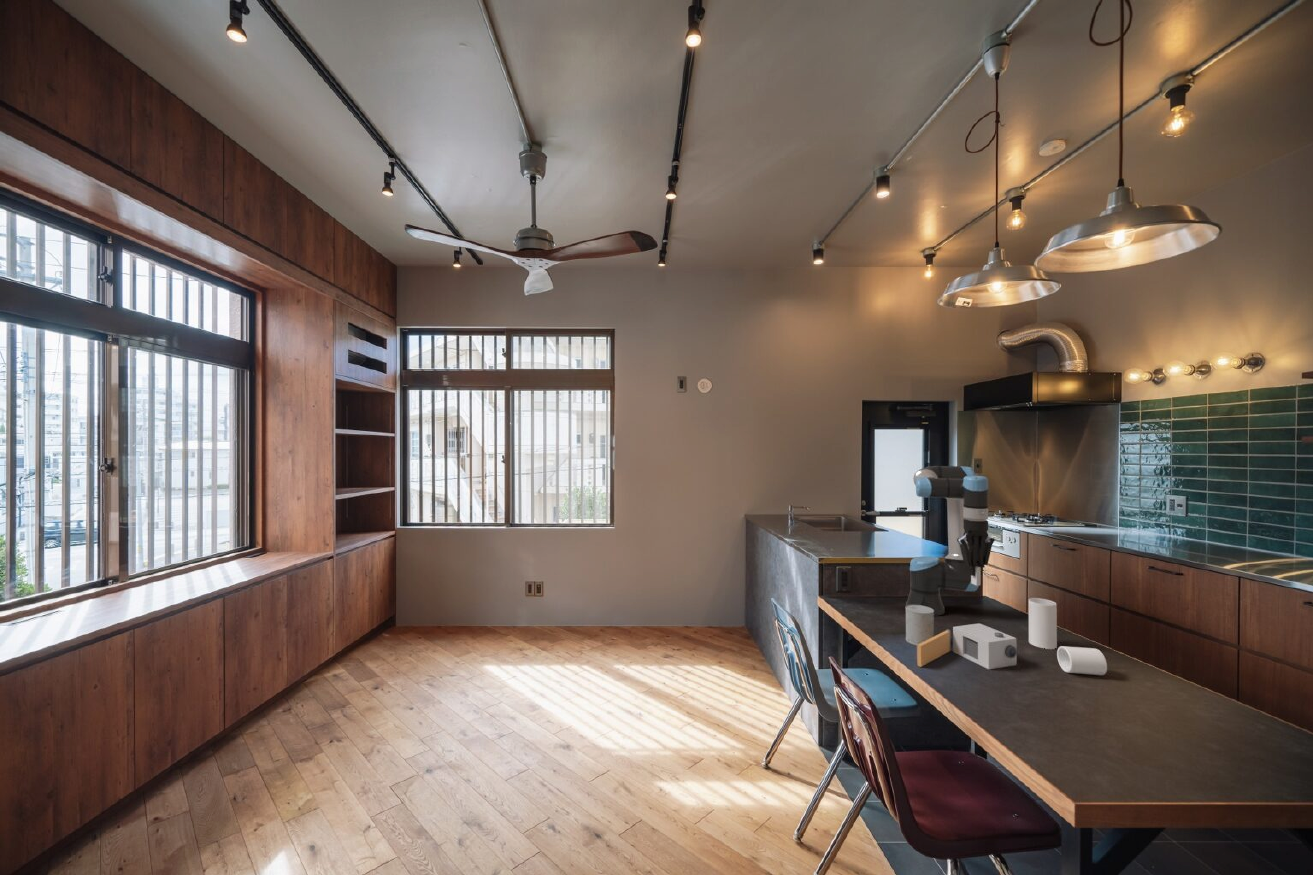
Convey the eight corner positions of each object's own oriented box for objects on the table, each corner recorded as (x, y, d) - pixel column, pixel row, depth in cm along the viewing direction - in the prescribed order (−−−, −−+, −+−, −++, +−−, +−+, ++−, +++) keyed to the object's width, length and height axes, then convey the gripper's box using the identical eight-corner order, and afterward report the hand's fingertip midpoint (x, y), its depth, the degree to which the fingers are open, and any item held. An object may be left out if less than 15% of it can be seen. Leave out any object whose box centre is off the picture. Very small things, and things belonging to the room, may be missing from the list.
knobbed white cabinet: (953, 651, 177) (953, 624, 177) (979, 647, 181) (979, 621, 181) (991, 670, 163) (991, 640, 163) (1019, 665, 166) (1019, 636, 166)
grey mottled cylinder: (927, 636, 191) (927, 604, 191) (938, 647, 182) (938, 613, 182) (901, 635, 192) (901, 604, 192) (911, 646, 182) (911, 612, 182)
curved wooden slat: (945, 648, 180) (945, 628, 180) (951, 650, 178) (951, 630, 178) (915, 664, 167) (915, 643, 167) (921, 667, 165) (921, 645, 165)
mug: (1107, 679, 157) (1107, 654, 157) (1071, 676, 159) (1071, 652, 159) (1083, 663, 168) (1082, 639, 168) (1049, 660, 170) (1049, 637, 170)
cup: (1057, 651, 178) (1057, 606, 178) (1028, 645, 182) (1028, 602, 182) (1056, 643, 184) (1056, 600, 184) (1028, 638, 189) (1028, 596, 189)
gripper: (966, 521, 173) (966, 588, 173) (1000, 520, 174) (1000, 586, 175) (951, 517, 180) (951, 581, 181) (984, 516, 182) (985, 580, 182)
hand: (975, 584), depth 178 cm, fingers closed
